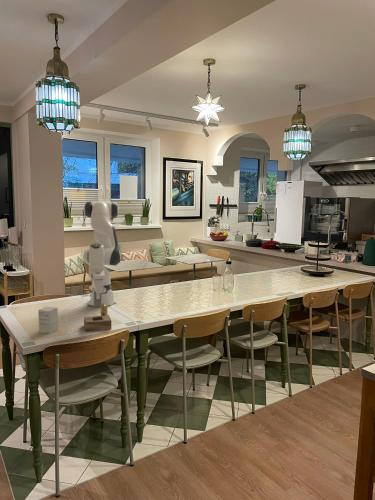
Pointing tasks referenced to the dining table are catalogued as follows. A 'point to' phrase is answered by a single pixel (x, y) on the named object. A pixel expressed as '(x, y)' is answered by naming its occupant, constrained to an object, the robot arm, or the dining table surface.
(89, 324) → the socket block
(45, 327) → the supplement box
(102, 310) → the round bit
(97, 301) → the square bit
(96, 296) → the robot arm
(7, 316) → the dining table surface
